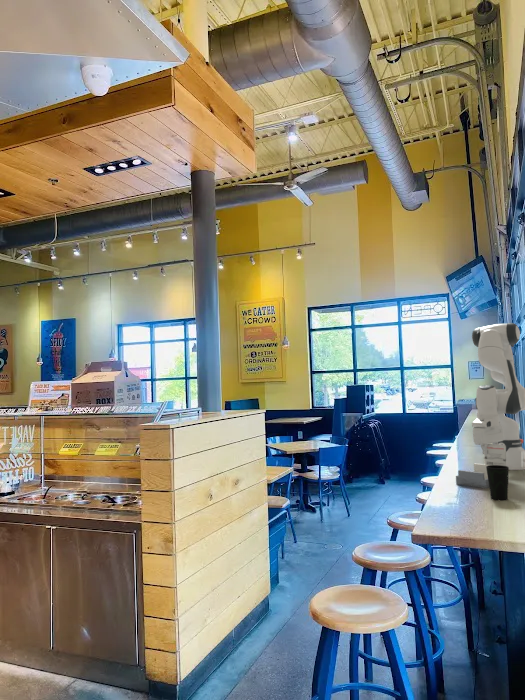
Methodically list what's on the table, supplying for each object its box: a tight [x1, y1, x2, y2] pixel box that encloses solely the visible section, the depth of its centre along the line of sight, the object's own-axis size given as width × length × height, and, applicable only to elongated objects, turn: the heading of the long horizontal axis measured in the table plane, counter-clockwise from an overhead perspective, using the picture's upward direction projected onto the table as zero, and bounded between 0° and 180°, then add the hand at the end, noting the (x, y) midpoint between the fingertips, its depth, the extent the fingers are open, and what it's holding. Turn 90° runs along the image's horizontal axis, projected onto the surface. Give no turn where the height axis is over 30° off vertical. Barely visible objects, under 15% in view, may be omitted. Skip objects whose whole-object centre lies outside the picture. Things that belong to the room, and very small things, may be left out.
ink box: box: [483, 443, 506, 466], centre depth 225 cm, size 9×5×12 cm, turn 70°
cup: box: [486, 465, 510, 502], centre depth 191 cm, size 8×8×12 cm
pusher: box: [473, 462, 489, 479], centre depth 221 cm, size 5×10×7 cm, turn 39°
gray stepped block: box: [455, 469, 490, 489], centre depth 219 cm, size 16×13×6 cm
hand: (490, 453), depth 226 cm, fingers closed on ink box, 6 cm apart
